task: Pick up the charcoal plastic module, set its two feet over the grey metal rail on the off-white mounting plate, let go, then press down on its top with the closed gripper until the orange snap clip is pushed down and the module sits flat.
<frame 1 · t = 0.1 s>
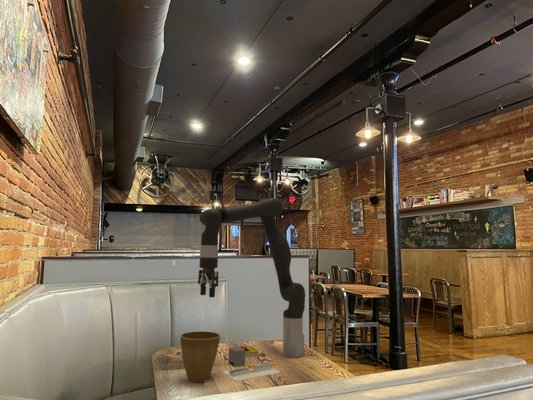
hand: (207, 296, 153), 29 cm above the table, tool pointing down, fingers open, 8 cm apart
emergency button: (244, 357, 171), on the table
mounting plate: (251, 374, 145), on the table
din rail: (251, 369, 145), on the mounting plate, point 1 cm above the table
module: (236, 366, 155), on the table
plant pot: (198, 379, 138), on the table
snap clip: (251, 366, 145), point 3 cm above the table, slide at 0.8 cm
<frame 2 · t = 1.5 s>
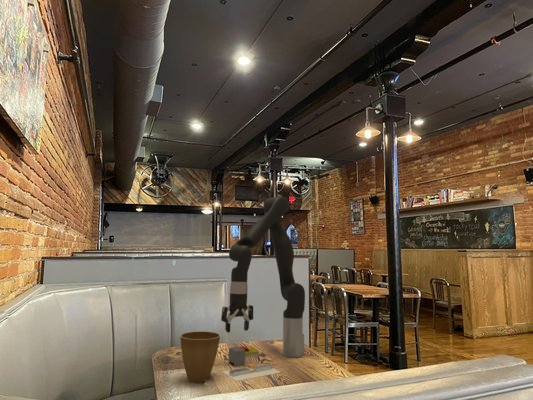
hand: (237, 331, 157), 14 cm above the table, tool pointing down, fingers open, 8 cm apart
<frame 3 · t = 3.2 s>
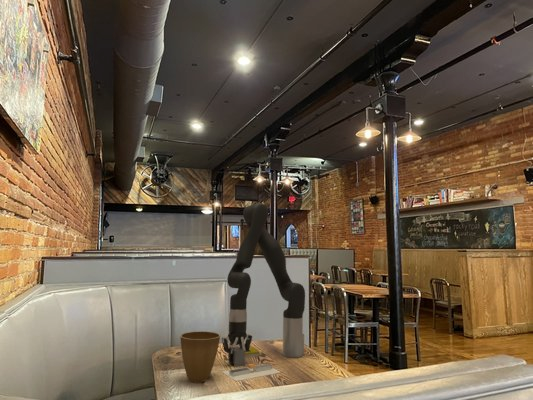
hand: (236, 361, 155), 2 cm above the table, tool pointing down, fingers closed on module, 4 cm apart
module: (236, 366, 155), on the table, touching gripper
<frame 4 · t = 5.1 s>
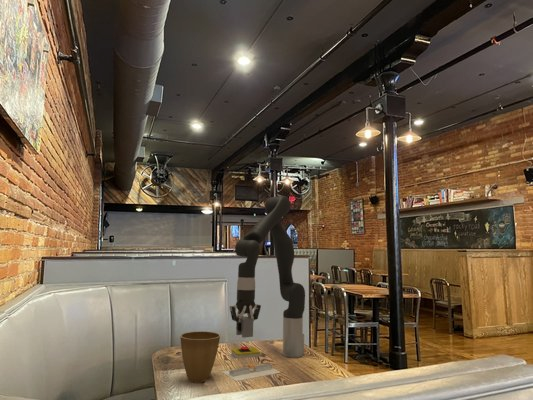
hand: (244, 330, 151), 15 cm above the table, tool pointing down, fingers closed on module, 4 cm apart
module: (244, 335, 151), point 14 cm above the table, touching gripper
when the fingers open (4 cm above the table, at t = 7.4 s): module stays where it is, resting on snap clip.
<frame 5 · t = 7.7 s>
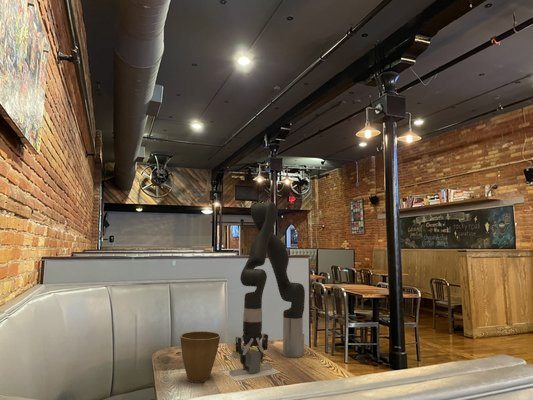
hand: (251, 363, 145), 4 cm above the table, tool pointing down, fingers open, 7 cm apart
module: (251, 370, 145), point 2 cm above the table, touching snap clip
snap clip: (251, 366, 145), point 3 cm above the table, slide at 0.7 cm, touching module
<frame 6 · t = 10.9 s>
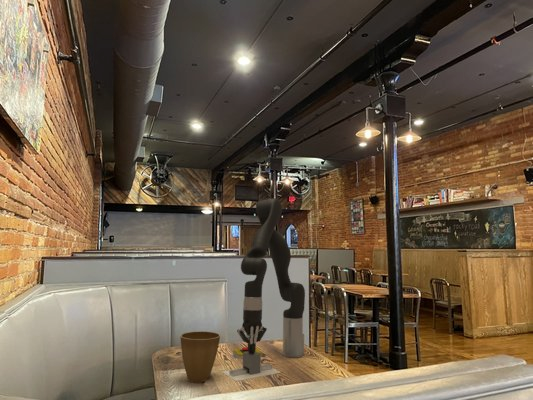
hand: (251, 353, 146), 8 cm above the table, tool pointing down, fingers closed
module: (251, 371, 145), point 1 cm above the table, touching gripper, mounting plate
snap clip: (251, 368, 145), point 2 cm above the table, slide at 0.1 cm
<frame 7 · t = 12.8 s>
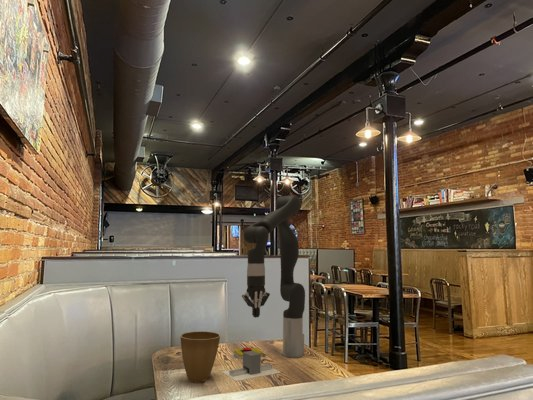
hand: (256, 317, 153), 21 cm above the table, tool pointing down, fingers closed
module: (251, 371, 145), point 1 cm above the table, touching mounting plate
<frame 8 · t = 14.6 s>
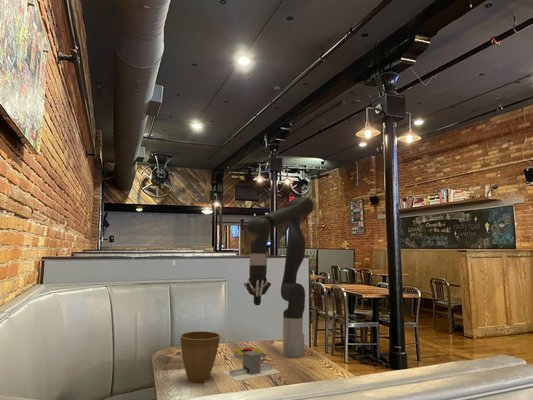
hand: (257, 305, 159), 25 cm above the table, tool pointing down, fingers closed
at the end: snap clip slide at 0.1 cm; module 0.1 cm off-centre on the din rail, point 1.0 cm above the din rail's base; module tilted 0° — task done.
